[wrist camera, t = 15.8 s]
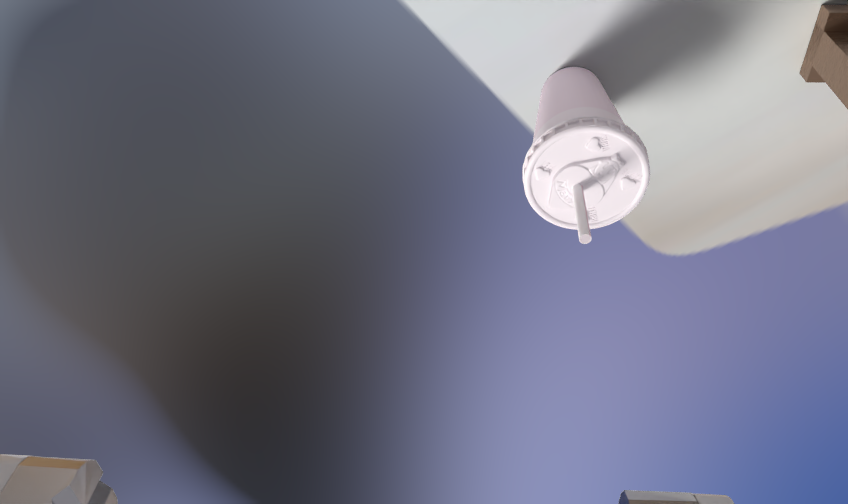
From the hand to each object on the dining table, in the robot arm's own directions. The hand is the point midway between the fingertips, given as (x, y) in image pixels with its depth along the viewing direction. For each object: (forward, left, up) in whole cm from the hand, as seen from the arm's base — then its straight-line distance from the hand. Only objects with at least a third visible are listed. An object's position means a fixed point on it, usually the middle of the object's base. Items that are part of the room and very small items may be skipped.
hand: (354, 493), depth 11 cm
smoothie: (+10, +7, -34) cm, 36 cm away
